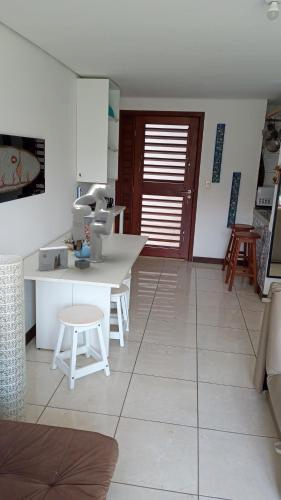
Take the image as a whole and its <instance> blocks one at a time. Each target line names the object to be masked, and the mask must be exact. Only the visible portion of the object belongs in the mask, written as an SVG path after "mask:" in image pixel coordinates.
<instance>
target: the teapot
mask: <svg viewBox="0 0 281 500" xmlns="http://www.w3.org/2000/svg"><path fill="white" fill-rule="evenodd" d="M71 245H72V246H73V244H72V243H71ZM73 253H74V255H75V256H76V258H78V259H79V258H80V259H88V258H90V247H89V246H88V242H86V243H83V247H82V249H81V251H75V250H73Z"/></svg>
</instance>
